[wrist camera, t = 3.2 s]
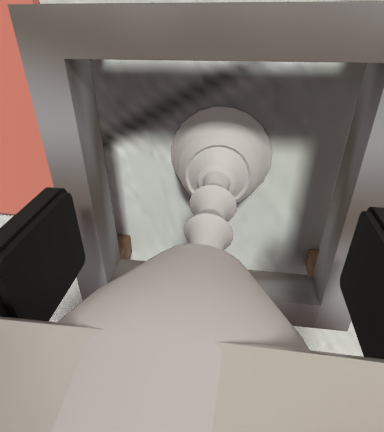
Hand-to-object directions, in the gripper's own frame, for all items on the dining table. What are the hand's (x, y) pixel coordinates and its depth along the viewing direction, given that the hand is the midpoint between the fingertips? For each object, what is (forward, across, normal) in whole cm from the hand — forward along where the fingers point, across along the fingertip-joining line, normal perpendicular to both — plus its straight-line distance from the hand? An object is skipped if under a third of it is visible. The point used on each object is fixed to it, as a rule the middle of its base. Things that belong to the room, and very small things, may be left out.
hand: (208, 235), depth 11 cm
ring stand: (+7, 0, 0) cm, 7 cm away
